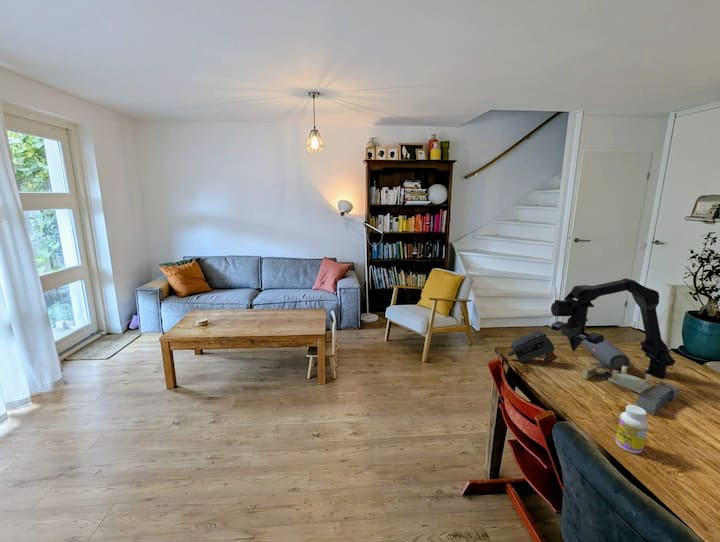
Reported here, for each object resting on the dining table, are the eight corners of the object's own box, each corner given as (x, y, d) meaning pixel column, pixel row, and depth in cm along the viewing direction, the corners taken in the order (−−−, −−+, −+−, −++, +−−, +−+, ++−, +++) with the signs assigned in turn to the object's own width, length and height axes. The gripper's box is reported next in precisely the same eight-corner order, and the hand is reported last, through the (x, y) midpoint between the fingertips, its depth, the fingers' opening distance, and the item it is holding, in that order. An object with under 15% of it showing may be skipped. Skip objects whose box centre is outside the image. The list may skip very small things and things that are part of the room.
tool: (561, 360, 150) (547, 332, 148) (519, 376, 155) (505, 349, 154) (556, 354, 155) (542, 327, 154) (516, 369, 161) (502, 343, 159)
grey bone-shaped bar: (658, 393, 130) (661, 381, 129) (676, 400, 125) (678, 388, 124) (635, 407, 121) (638, 395, 120) (653, 415, 116) (656, 402, 115)
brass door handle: (593, 366, 148) (594, 359, 148) (608, 372, 143) (609, 365, 143) (576, 374, 142) (577, 367, 141) (591, 381, 137) (592, 373, 136)
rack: (621, 373, 144) (623, 364, 143) (653, 385, 135) (655, 375, 134) (608, 380, 139) (610, 370, 138) (640, 393, 129) (642, 383, 128)
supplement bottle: (609, 439, 105) (616, 403, 102) (629, 437, 106) (636, 401, 103) (628, 455, 99) (635, 417, 96) (648, 453, 99) (657, 415, 96)
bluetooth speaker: (579, 350, 166) (582, 331, 164) (599, 351, 165) (603, 332, 162) (605, 373, 144) (609, 352, 142) (629, 375, 143) (633, 353, 140)
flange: (591, 365, 151) (591, 365, 151) (614, 374, 143) (614, 374, 143) (580, 370, 146) (580, 370, 146) (603, 380, 139) (603, 379, 139)
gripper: (545, 312, 144) (541, 346, 147) (592, 327, 128) (586, 364, 131) (560, 308, 149) (556, 341, 152) (607, 321, 133) (601, 357, 136)
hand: (573, 350), depth 143 cm, fingers closed
